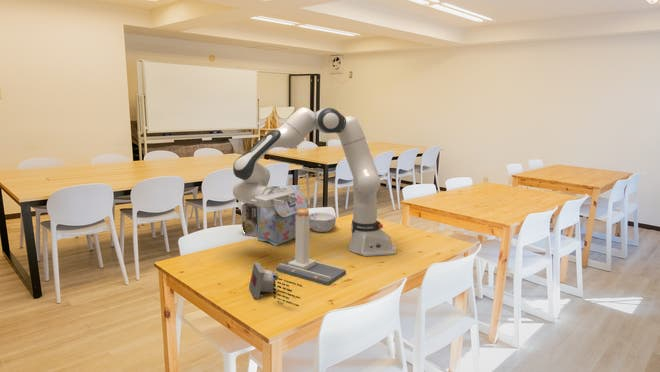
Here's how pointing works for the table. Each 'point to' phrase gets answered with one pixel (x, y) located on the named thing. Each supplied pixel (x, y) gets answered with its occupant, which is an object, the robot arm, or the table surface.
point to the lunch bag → (280, 219)
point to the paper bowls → (321, 221)
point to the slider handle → (302, 241)
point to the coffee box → (250, 219)
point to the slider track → (314, 272)
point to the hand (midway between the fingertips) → (290, 201)
